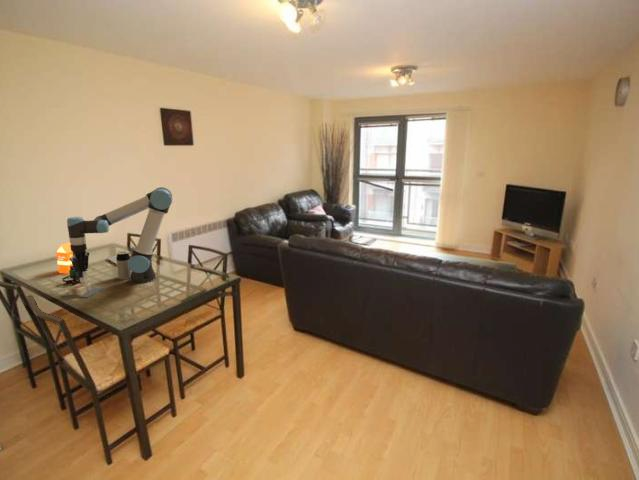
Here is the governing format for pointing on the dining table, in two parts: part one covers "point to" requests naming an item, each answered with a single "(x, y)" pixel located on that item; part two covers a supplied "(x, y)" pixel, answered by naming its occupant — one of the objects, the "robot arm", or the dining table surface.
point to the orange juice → (64, 258)
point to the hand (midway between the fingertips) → (83, 281)
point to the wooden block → (79, 289)
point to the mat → (86, 295)
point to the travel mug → (123, 265)
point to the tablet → (113, 259)
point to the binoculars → (72, 277)
